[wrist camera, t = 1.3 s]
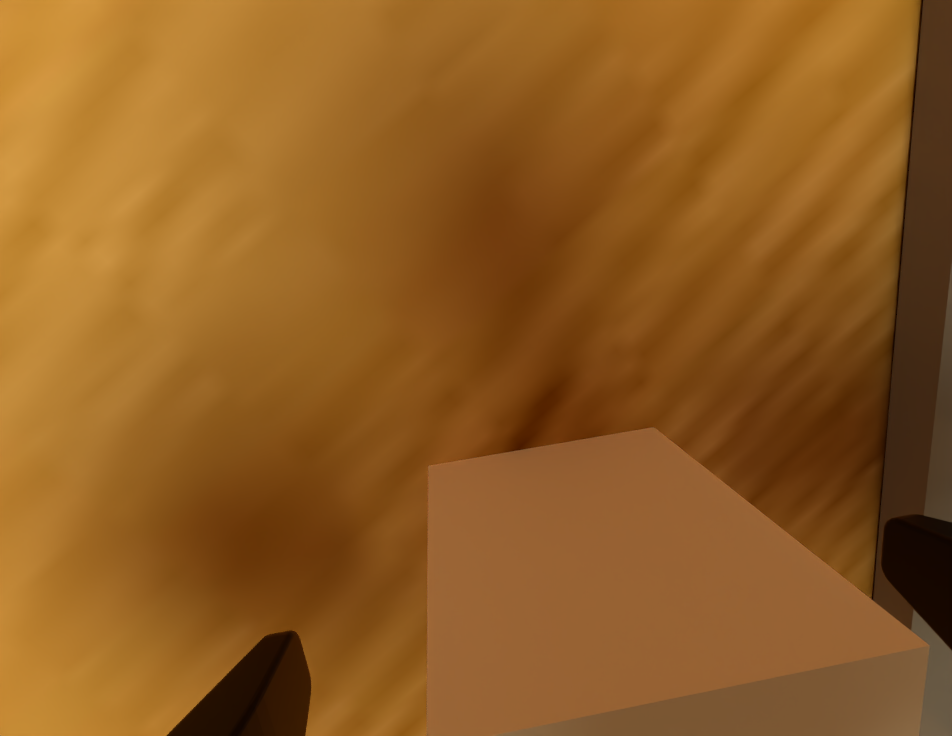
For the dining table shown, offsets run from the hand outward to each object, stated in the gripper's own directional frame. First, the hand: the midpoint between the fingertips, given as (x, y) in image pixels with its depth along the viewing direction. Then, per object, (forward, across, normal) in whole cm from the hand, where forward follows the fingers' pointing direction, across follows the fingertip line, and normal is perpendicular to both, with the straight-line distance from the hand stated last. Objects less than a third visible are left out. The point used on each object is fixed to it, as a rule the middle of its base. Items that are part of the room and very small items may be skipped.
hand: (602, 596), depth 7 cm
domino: (+4, 0, 0) cm, 4 cm away
